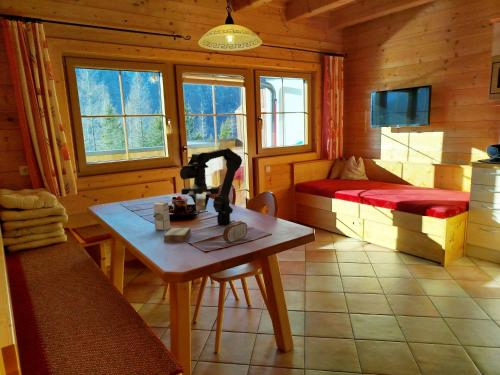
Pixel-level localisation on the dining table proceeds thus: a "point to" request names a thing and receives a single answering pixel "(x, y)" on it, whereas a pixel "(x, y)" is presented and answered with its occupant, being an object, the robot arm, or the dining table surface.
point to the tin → (235, 231)
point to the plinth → (177, 235)
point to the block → (200, 204)
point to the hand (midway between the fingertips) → (201, 207)
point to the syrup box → (161, 215)
